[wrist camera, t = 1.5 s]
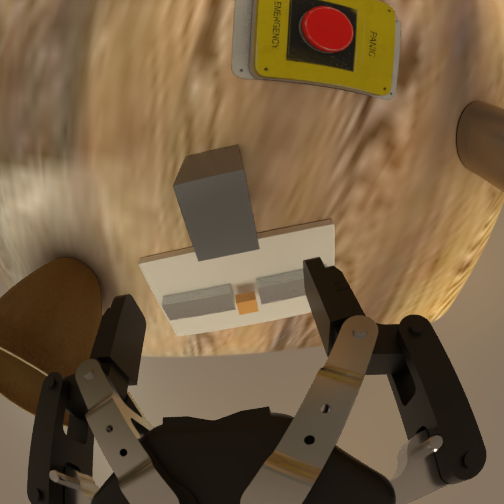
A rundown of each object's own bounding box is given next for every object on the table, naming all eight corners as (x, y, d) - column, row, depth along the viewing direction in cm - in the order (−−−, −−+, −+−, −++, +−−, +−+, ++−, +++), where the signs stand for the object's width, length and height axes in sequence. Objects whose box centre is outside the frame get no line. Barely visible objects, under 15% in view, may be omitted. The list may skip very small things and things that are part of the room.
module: (237, 144, 22) (244, 169, 16) (250, 206, 26) (259, 249, 20) (185, 156, 22) (172, 185, 16) (202, 216, 26) (198, 261, 20)
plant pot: (135, 328, 34) (116, 441, 21) (44, 311, 31) (7, 405, 18) (125, 232, 26) (68, 372, 12) (16, 221, 23) (-61, 320, 10)
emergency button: (239, -35, 10) (425, 14, 12) (236, -17, 14) (397, 18, 16) (232, 77, 16) (418, 108, 17) (230, 78, 19) (391, 101, 21)
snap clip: (254, 291, 28) (255, 299, 27) (257, 303, 29) (258, 311, 28) (235, 294, 28) (235, 303, 27) (238, 306, 29) (239, 314, 28)
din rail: (325, 263, 29) (330, 272, 28) (325, 280, 30) (329, 289, 29) (163, 295, 29) (161, 305, 28) (171, 310, 31) (169, 320, 30)
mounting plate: (331, 219, 27) (334, 223, 26) (330, 301, 34) (333, 306, 33) (140, 258, 27) (138, 264, 27) (178, 330, 34) (177, 336, 34)
